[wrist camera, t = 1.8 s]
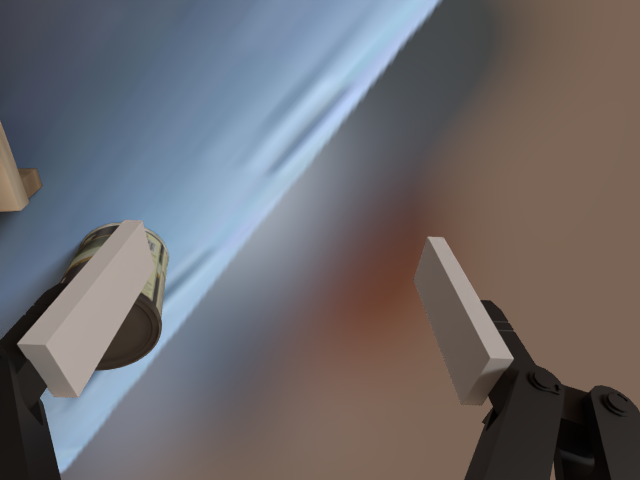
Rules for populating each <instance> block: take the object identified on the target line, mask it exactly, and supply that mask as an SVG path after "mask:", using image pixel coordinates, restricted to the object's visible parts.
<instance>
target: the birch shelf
mask: <svg viewBox="0 0 640 480" xmlns="http://www.w3.org/2000/svg"><path fill="white" fill-rule="evenodd" d="M41 187H42V183H41V180H40V177H39V174H38V171H37V168H26V169H17V166H16V163H15V161H14V158H13V155H12V152H11V149H10V147H9V144H8V141H7V138H6V135H5V132H4V130H3V127H2V124H1V121H0V212H2V211H21V210H22V209H23V208H24V207H25V206H26V205H27V204H29V200H28V198H29V197H31V196H32V195H33V194H34V193H35V192H36V191H37V190H39V189H40V188H41Z"/></svg>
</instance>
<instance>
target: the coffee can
mask: <svg viewBox="0 0 640 480" xmlns="http://www.w3.org/2000/svg"><path fill="white" fill-rule="evenodd" d="M120 225H121V223H111V224H106V225H103V226H101V227H98V228H96V229H95V230H93V231H91V232H90V233H89V234H88V235H87V236H86V237H85V238H84V240H83V241H82V243H81V245H80V248H79V250H78V252H77V254H76V255H75V257H74V259H73V261H72V262H71V264H70V266H69V268H68V269H67V271H66V273H65V274H64V276H63V278H62V280H61V281H60V283H70V282H71V281H72V280H73V279H74V278H75V276H76V275H77V274H78V273H79V272H80V271H81V269H82V268H83V267H84V266H85V265H86V264H87V263H88V261H89V260H90V259H91V258H92V257H93V256H94V254H95V253H96V252H97V251H98V250H99V249H100V248H101V246H102V245H103V244H104V243H105V242H106V241H107V239H108V238H109V237H110V236H111V235H112V234H113V233H114V231H115V230H116V229H117V228H118V227H119V226H120ZM144 229H145V232H146V236H147V240H148V244H149V248H150V251H151V255H152V259H153V263H154V266H155V269H154V270H153V272H152V274H151V275H150V277H149V279H148V280H147V282H146V284H145V286H144V287H143V289H142V291H141V292H140V294H139V296H138V297H137V299H136V301H135V302H134V304H133V306H132V308H131V309H130V311H129V313H128V314H127V316H126V318H125V319H124V321H123V323H122V324H121V326H120V328H119V329H118V331H117V333H116V335H115V336H114V338H113V340H112V341H111V343H110V345H109V346H108V348H107V350H106V351H105V353H104V355H103V357H102V358H101V360H100V362H99V363H98V365H97V367H96V368H95V370H110V369H116V368H120V367H124V366H127V365H129V364H132V363H134V362H136V361H138V360H140V359H141V358H143V357H144V356H146V355H147V354H148V353H149V352H150V351H151V350H152V349H153V348H154V347H155V345H156V344H157V342H158V340H159V338H160V335H161V330H162V321H161V315H162V307H163V298H164V289H165V280H166V271H167V266H168V261H169V256H168V251H167V248H166V246H165V244H164V242H163V241H162V240H161V238H160V237H159V236H158V235H157V234H155V233H154V232H152V231H151V230H149V229H147V228H145V227H144Z"/></svg>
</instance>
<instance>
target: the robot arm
mask: <svg viewBox="0 0 640 480" xmlns="http://www.w3.org/2000/svg"><path fill="white" fill-rule="evenodd" d="M154 269H155V266H154V263H153V259H152V255H151V251H150V248H149V244H148V240H147V236H146V232H145V229H144V225H143V221H138V220H124V221H123V222H122V223H121V225H120V226H119V227H118V228H117V229H116V230H115V231H114V233H113V234H112V235H111V236H110V237H109V238H108V239H107V241H106V242H105V243H104V244H103V245H102V246H101V248H100V249H99V250H98V251H97V252H96V253H95V254H94V256H93V257H92V258H91V259H90V260H89V261H88V263H87V264H86V265H85V266H84V267H83V268H82V269H81V271H80V272H79V273H78V274H77V275H76V276H75V278H74V279H73V280H72V281H71V282H70V283H59V284H57V285H55V286H54V287H52V288H51V289H49V290H48V291H46V292H45V293H44V294H43V295H42V296H41V297H40V298H39V299H38V300H37V301H36V302H35V303H34V306H32V307H31V308H30V309H29V310H28V311H27V312H26V315H23V316H22V317H21V318H20V320H19V321H18V322H17V323H16V324H15V325H14V326H13V327H12V328H11V329H10V330H9V331H8V333H7V334H6V335H5V336H4V337H3V338H2V339H1V340H0V480H61V478H60V473H59V469H58V465H57V461H56V456H55V452H54V448H53V443H52V439H51V435H50V431H49V426H48V422H47V418H46V414H45V409H44V405H43V402H42V401H41V399H40V397H41V395H42V394H43V392H44V391H45V389H46V388H48V389H49V391H50V392H51V394H52V395H53V396H54V397H77V398H78V397H79V395H80V394H81V392H82V390H83V389H84V387H85V385H86V384H87V382H88V380H89V379H90V377H91V375H92V373H93V372H94V370H95V368H96V367H97V365H98V363H99V362H100V360H101V358H102V357H103V355H104V353H105V351H106V350H107V348H108V346H109V345H110V343H111V341H112V340H113V338H114V336H115V335H116V333H117V331H118V329H119V328H120V326H121V324H122V323H123V321H124V319H125V318H126V316H127V314H128V313H129V311H130V309H131V308H132V306H133V304H134V302H135V301H136V299H137V297H138V296H139V294H140V292H141V291H142V289H143V287H144V286H145V284H146V282H147V280H148V279H149V277H150V275H151V274H152V272H153V270H154ZM414 282H415V285H416V288H417V290H418V293H419V295H420V298H421V301H422V303H423V306H424V309H425V311H426V314H427V316H428V319H429V321H430V324H431V327H432V330H433V332H434V335H435V337H436V340H437V343H438V345H439V348H440V351H441V353H442V356H443V358H444V361H445V364H446V366H447V369H448V372H449V374H450V377H451V379H452V382H453V385H454V387H455V390H456V392H457V395H458V398H459V400H460V403H461V405H482V404H483V403H484V401H485V400H486V398H487V397H489V399H490V401H491V403H492V405H493V408H492V409H491V410H490V412H489V413H488V414H487V416H486V417H485V419H484V420H483V421H482V423H484V424H485V426H484V428H483V431H482V433H481V436H480V439H479V442H478V444H477V447H476V450H475V452H474V455H473V458H472V461H471V463H470V466H469V469H468V471H467V474H466V476H465V479H464V480H550V476H551V470H552V464H553V461H554V469H555V478H556V480H640V412H639V410H638V408H637V407H636V406H635V405H634V404H633V403H632V401H631V400H630V399H629V398H627V397H626V396H624V395H623V394H622V393H620V392H618V391H617V390H615V389H612V388H610V387H606V386H602V385H601V386H595V387H594V388H593V389H592V390H591V391H590V392H589V393H588V392H584V391H581V390H578V389H575V388H572V387H568V386H565V385H562V384H561V382H560V381H559V380H558V379H557V378H556V377H555V376H554V375H553V374H552V373H550V372H549V371H548V370H546V369H544V368H542V367H539V366H537V365H536V364H535V363H534V361H533V360H532V358H531V357H530V355H529V353H528V352H527V350H526V349H525V347H524V345H523V344H522V342H521V341H520V339H519V338H518V336H517V334H516V333H515V332H514V331H513V328H512V326H511V325H510V323H508V320H507V319H506V317H505V315H504V314H503V312H502V311H501V310H500V309H499V308H498V307H497V306H496V305H495V304H494V303H493V302H491V301H488V300H479V298H478V296H477V294H476V293H475V291H474V289H473V287H472V286H471V284H470V282H469V281H468V279H467V277H466V276H465V274H464V272H463V270H462V269H461V267H460V265H459V263H458V262H457V260H456V258H455V257H454V255H453V253H452V251H451V250H450V248H449V246H448V244H447V243H446V241H445V240H444V238H442V237H428V238H427V241H426V244H425V247H424V250H423V253H422V256H421V259H420V262H419V265H418V268H417V271H416V275H415V277H414Z"/></svg>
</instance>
